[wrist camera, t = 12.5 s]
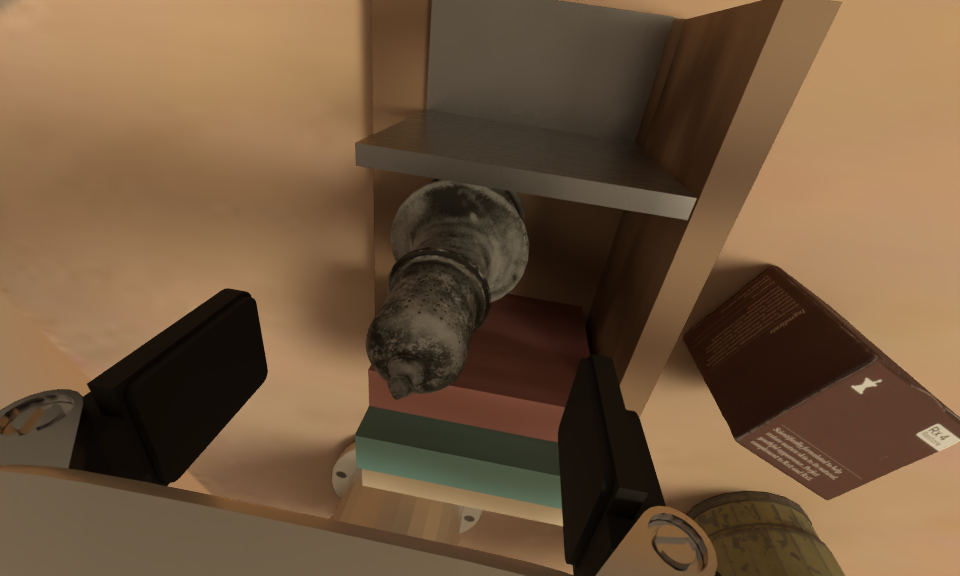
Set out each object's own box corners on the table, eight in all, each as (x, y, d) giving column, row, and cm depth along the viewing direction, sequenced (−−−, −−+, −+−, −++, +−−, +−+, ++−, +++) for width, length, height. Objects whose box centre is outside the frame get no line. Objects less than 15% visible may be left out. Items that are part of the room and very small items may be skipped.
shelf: (578, 391, 26) (598, 558, 17) (381, 354, 26) (305, 498, 18) (708, 25, 15) (916, -12, 7) (380, -21, 16) (199, -108, 8)
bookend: (629, 155, 17) (687, 220, 10) (427, 123, 18) (356, 165, 11) (672, 17, 15) (787, -17, 8) (434, -16, 15) (347, -76, 8)
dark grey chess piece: (464, 289, 22) (395, 498, 12) (389, 206, 20) (229, 368, 10) (554, 231, 19) (569, 430, 9) (480, 130, 18) (395, 239, 7)
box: (677, 334, 23) (730, 441, 16) (773, 260, 20) (881, 354, 14) (751, 386, 24) (826, 504, 18) (851, 323, 21) (984, 437, 15)
